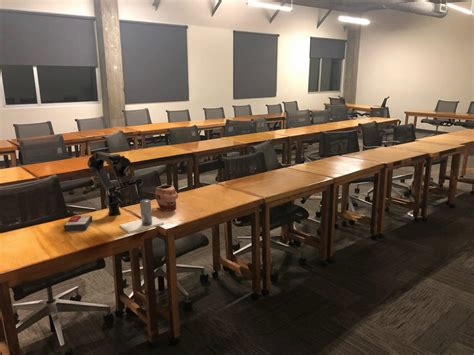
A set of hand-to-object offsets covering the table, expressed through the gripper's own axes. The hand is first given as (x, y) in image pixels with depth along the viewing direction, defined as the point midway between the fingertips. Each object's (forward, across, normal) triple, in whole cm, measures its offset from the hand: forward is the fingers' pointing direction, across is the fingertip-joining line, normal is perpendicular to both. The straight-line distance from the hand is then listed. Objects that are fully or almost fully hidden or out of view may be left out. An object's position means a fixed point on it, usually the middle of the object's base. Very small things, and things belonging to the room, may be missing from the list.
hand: (131, 200), depth 206 cm
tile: (+14, +1, +3) cm, 15 cm away
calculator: (0, -29, +14) cm, 32 cm away
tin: (+15, +3, 0) cm, 15 cm away
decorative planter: (+6, +21, +22) cm, 31 cm away
